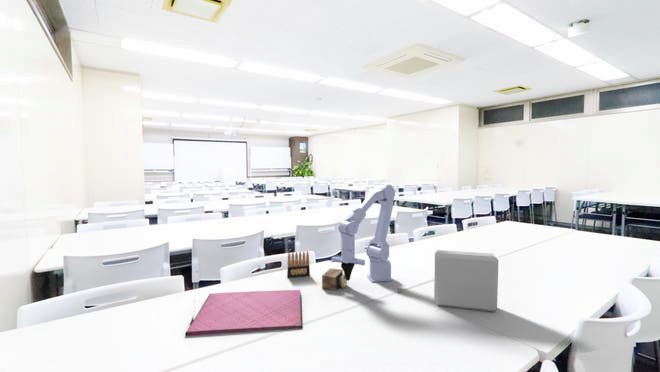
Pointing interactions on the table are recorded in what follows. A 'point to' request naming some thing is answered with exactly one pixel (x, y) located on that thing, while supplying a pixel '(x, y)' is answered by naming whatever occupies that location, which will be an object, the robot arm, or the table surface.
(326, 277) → the collar block
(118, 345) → the table surface
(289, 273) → the ammunition clip
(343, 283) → the peg
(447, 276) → the bevelled white case
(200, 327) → the laptop bag
